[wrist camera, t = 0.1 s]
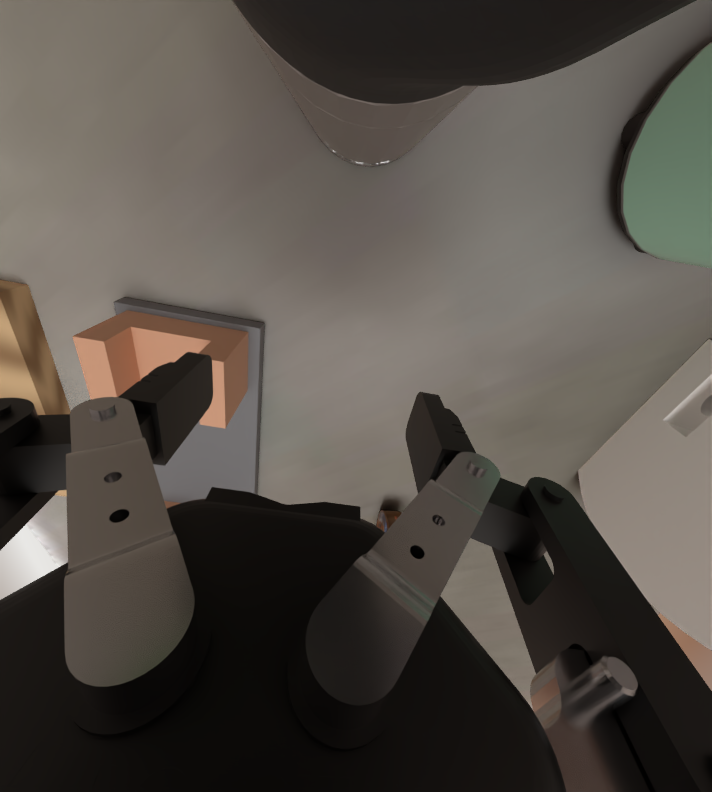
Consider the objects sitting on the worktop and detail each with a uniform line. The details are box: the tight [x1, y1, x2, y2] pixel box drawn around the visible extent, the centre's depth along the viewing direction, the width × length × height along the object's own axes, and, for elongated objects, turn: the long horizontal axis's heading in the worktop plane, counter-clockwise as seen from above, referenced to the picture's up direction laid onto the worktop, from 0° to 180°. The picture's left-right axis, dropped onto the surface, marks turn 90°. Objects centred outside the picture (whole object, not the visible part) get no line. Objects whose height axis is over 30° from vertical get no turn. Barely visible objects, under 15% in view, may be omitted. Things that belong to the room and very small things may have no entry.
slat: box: [0, 280, 70, 496], centre depth 32 cm, size 24×4×3 cm, turn 169°
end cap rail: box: [73, 297, 265, 509], centre depth 32 cm, size 31×12×10 cm, turn 169°
